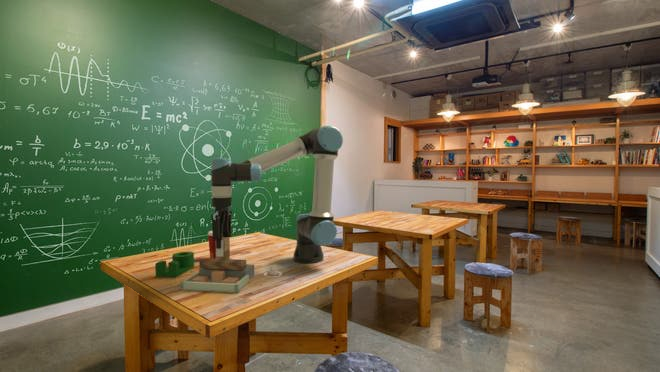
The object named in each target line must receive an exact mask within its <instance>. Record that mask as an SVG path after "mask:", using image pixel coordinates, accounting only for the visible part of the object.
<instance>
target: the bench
mask: <svg viewBox="0 0 660 372" xmlns="http://www.w3.org/2000/svg"><path fill="white" fill-rule="evenodd" d="M214 270H219V271H225V279H226V278H227V277H234V278H239V281H240V280H241V279H242V278H243V277H244V276H246V275H249V281H250V280H251V279H252V278H253V277H254V276H255V264H249V263H248V264H247V263H246V268H245V269H243V270H225V269H203V268H199V269H198V273H199V276H207V277H208V279H211V280H212V276H211V272H213V271H214Z"/></svg>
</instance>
